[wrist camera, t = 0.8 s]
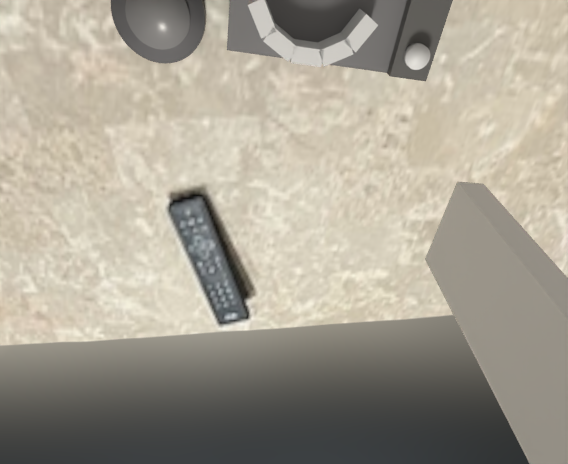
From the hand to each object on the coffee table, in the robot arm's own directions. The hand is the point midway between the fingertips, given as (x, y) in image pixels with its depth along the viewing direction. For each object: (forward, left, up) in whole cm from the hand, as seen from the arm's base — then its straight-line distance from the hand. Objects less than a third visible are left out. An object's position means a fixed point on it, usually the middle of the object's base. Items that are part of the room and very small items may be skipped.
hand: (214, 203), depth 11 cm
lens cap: (-7, -1, -30) cm, 31 cm away
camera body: (+7, +3, -30) cm, 31 cm away
